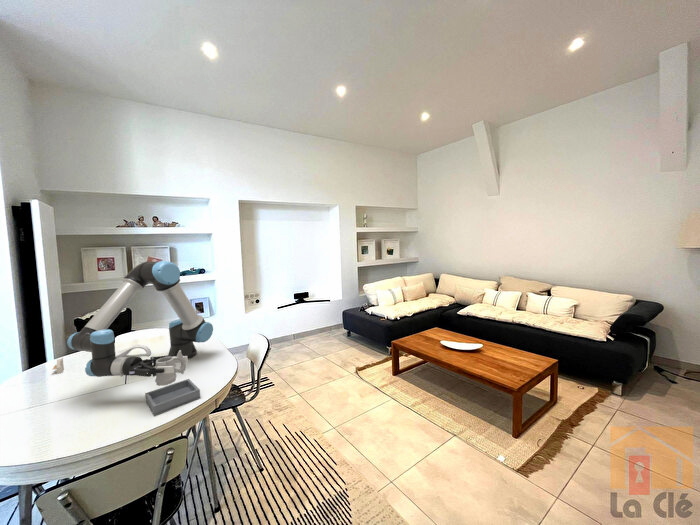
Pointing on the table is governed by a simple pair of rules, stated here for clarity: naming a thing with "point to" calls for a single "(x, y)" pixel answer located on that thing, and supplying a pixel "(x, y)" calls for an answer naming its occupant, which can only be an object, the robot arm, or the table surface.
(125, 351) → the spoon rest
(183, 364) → the mug
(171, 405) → the box
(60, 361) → the architectural model
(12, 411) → the table surface
